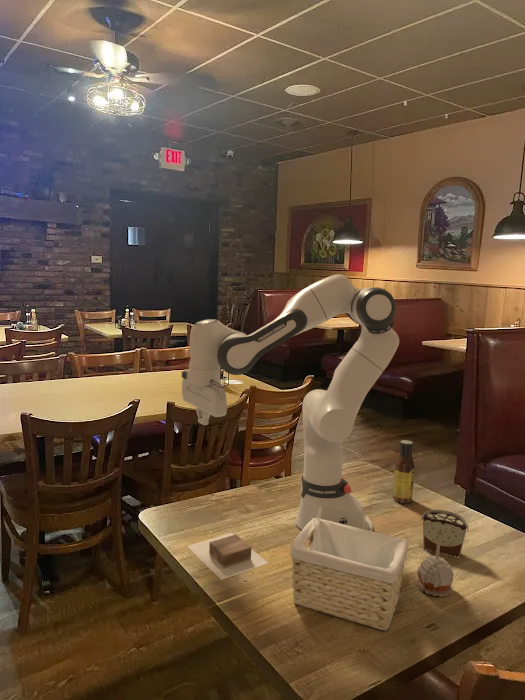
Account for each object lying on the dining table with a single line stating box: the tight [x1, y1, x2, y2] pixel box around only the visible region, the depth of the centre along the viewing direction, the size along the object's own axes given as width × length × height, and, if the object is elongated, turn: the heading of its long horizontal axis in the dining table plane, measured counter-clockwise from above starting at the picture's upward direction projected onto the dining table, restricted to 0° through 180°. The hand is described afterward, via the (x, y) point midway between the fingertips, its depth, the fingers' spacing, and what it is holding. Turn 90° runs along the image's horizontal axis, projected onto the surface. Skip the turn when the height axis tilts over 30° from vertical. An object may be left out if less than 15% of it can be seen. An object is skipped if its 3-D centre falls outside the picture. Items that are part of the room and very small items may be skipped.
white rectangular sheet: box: [186, 532, 269, 581], centre depth 142 cm, size 18×14×1 cm
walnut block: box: [209, 534, 252, 569], centre depth 141 cm, size 4×8×8 cm
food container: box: [420, 509, 469, 558], centre depth 150 cm, size 12×6×10 cm, turn 65°
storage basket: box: [289, 518, 409, 631], centre depth 125 cm, size 24×16×15 cm
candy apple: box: [416, 530, 454, 598], centre depth 131 cm, size 8×8×15 cm
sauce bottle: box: [392, 439, 416, 504], centre depth 178 cm, size 6×6×20 cm
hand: (203, 423), depth 157 cm, fingers closed
